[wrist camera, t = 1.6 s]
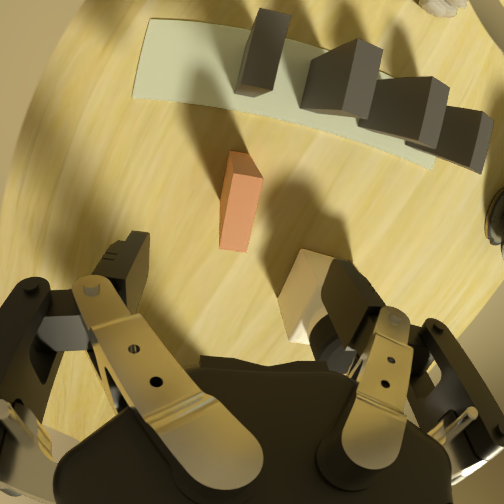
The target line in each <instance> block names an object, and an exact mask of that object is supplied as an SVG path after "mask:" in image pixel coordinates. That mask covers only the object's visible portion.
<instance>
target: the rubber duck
mask: <svg viewBox="0 0 504 504" xmlns="http://www.w3.org/2000/svg"><path fill="white" fill-rule="evenodd" d="M467 1H468V0H419V5H420V6H421V7H422V8H423V9H425V10H426V11H427V12H428V13H429V14H431V15H434V16H436V17H443V18H449V17H454V16H456V14H457V9H458V8H460V7H461V8H466V6H467V3H466V2H467Z"/></svg>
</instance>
